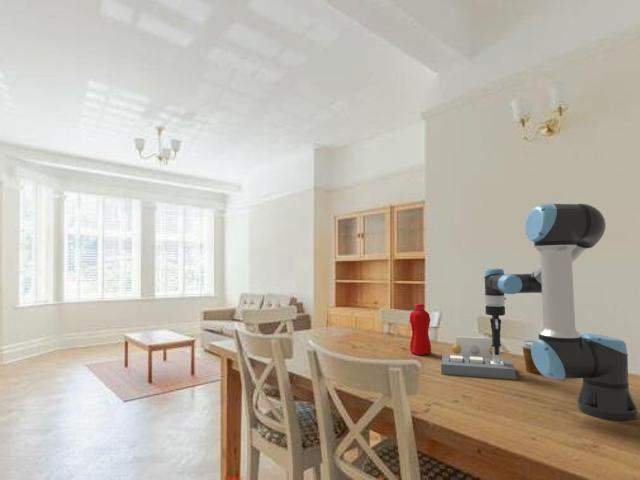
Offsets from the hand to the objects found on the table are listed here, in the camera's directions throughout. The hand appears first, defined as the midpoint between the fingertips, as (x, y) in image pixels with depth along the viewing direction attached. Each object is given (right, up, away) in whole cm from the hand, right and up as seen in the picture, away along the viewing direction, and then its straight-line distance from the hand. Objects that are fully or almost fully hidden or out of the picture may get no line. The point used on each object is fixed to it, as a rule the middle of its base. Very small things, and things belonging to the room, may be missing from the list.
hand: (496, 362), depth 168 cm
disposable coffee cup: (+16, -4, +1) cm, 17 cm away
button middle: (-8, -2, +2) cm, 8 cm away
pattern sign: (-2, -5, +18) cm, 19 cm away
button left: (-15, -2, +5) cm, 16 cm away
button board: (-7, -5, +2) cm, 9 cm away
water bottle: (-24, -7, +35) cm, 43 cm away
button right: (0, -3, 0) cm, 3 cm away
